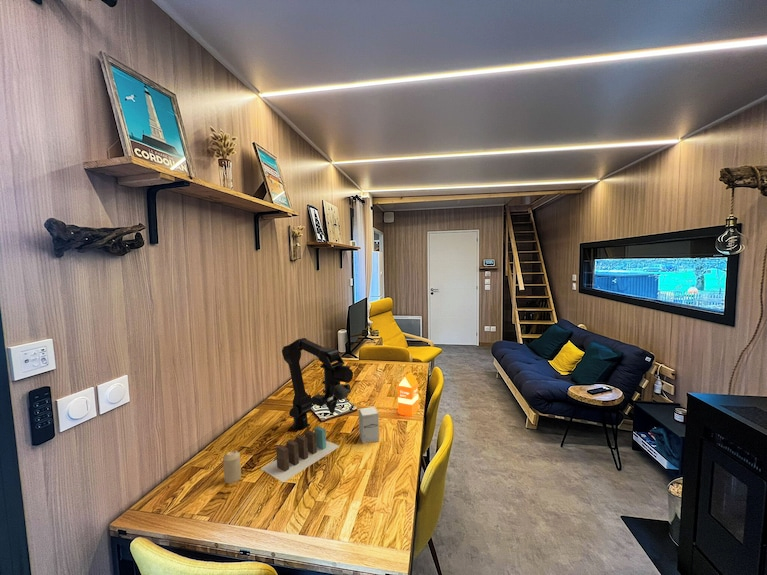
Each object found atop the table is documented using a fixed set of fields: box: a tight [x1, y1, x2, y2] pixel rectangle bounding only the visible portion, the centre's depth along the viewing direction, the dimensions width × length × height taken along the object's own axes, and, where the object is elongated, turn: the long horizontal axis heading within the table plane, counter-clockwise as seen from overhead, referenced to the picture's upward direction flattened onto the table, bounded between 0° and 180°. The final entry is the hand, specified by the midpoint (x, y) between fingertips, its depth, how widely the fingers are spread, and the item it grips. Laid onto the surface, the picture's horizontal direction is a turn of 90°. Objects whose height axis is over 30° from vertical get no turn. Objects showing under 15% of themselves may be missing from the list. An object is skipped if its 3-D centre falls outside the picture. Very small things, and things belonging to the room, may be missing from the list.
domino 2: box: [285, 439, 299, 465], centre depth 125 cm, size 2×5×8 cm, turn 53°
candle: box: [222, 449, 242, 485], centre depth 116 cm, size 6×6×10 cm
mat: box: [260, 439, 341, 483], centre depth 128 cm, size 14×28×1 cm, turn 143°
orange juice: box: [397, 371, 420, 417], centre depth 166 cm, size 8×9×20 cm
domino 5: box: [313, 425, 327, 450], centre depth 135 cm, size 2×5×8 cm, turn 53°
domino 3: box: [295, 434, 308, 460], centre depth 128 cm, size 2×5×8 cm, turn 53°
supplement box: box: [358, 406, 380, 444], centre depth 141 cm, size 7×7×13 cm
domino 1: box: [275, 444, 289, 472], centre depth 121 cm, size 2×5×8 cm, turn 53°
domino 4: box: [304, 429, 317, 454], centre depth 132 cm, size 2×5×8 cm, turn 53°
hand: (332, 413), depth 141 cm, fingers closed
